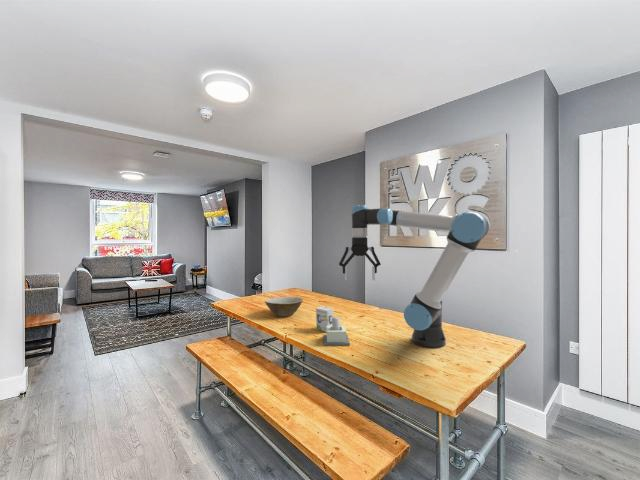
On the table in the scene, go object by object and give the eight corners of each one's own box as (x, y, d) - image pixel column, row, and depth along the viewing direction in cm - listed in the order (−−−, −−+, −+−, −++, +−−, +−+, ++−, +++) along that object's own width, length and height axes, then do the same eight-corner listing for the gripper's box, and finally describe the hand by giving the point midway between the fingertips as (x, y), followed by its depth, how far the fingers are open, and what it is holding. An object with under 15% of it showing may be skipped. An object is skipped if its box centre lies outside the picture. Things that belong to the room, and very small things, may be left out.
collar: (344, 335, 149) (344, 325, 149) (346, 342, 140) (346, 331, 140) (326, 335, 149) (326, 325, 149) (327, 342, 140) (327, 331, 140)
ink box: (334, 330, 160) (334, 308, 159) (327, 333, 156) (327, 310, 156) (322, 327, 166) (322, 305, 165) (315, 329, 162) (315, 307, 162)
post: (347, 336, 151) (347, 314, 151) (349, 345, 139) (349, 322, 139) (323, 336, 151) (323, 314, 150) (323, 345, 139) (323, 322, 139)
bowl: (271, 309, 204) (271, 294, 204) (306, 310, 201) (306, 295, 200) (259, 319, 181) (259, 302, 180) (298, 320, 177) (298, 304, 177)
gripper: (383, 236, 151) (383, 278, 152) (333, 236, 151) (333, 278, 152) (386, 236, 144) (386, 281, 144) (334, 237, 143) (334, 281, 144)
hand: (359, 280), depth 148 cm, fingers open, 13 cm apart
